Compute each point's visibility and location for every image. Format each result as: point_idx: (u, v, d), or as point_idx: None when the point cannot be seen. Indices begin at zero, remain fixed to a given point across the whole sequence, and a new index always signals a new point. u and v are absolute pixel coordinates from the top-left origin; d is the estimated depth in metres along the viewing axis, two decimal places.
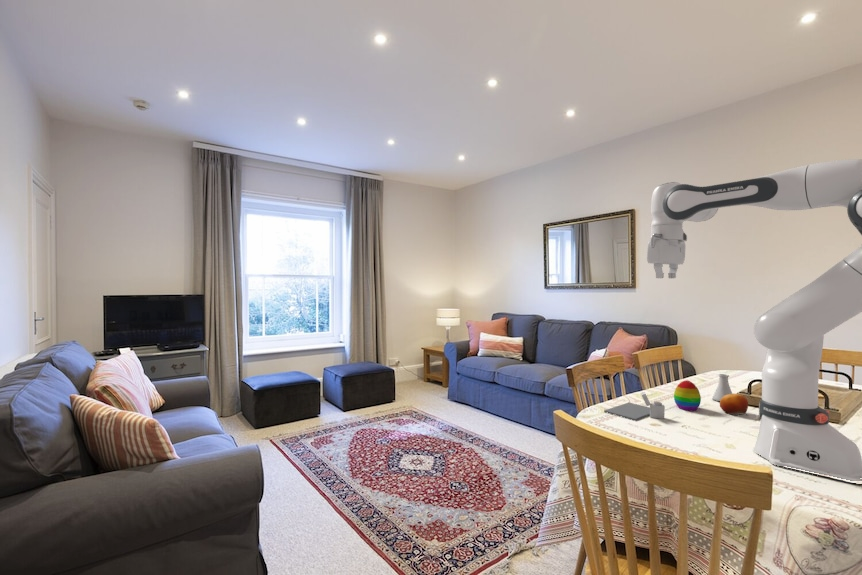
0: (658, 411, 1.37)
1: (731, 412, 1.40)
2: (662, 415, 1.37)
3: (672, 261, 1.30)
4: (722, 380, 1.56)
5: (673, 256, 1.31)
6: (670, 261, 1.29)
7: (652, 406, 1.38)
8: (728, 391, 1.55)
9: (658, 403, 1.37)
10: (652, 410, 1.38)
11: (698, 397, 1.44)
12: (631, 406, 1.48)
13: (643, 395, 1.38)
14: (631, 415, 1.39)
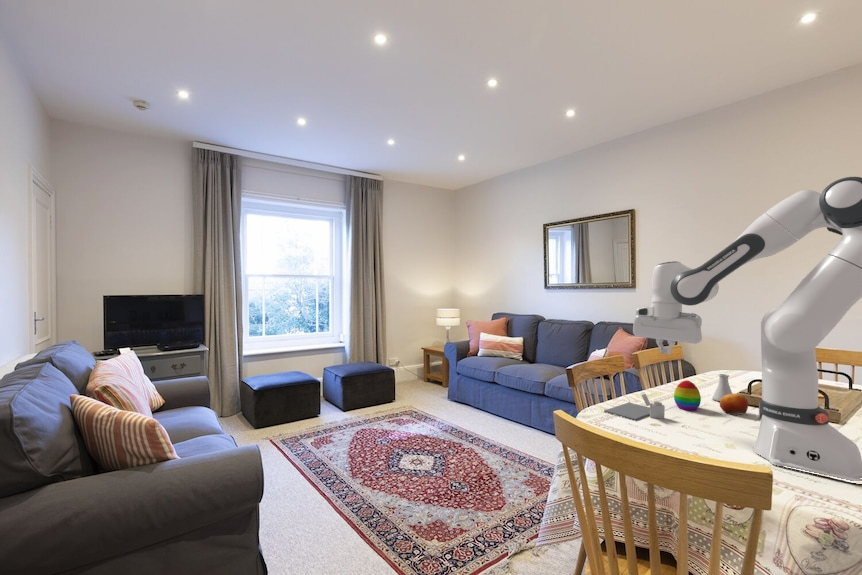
0: (658, 411, 1.37)
1: (731, 412, 1.40)
2: (662, 415, 1.37)
3: None
4: (722, 380, 1.56)
5: None
6: None
7: (652, 406, 1.38)
8: (728, 391, 1.55)
9: (658, 403, 1.37)
10: (652, 410, 1.38)
11: (698, 397, 1.44)
12: (631, 406, 1.48)
13: (643, 395, 1.38)
14: (631, 415, 1.39)
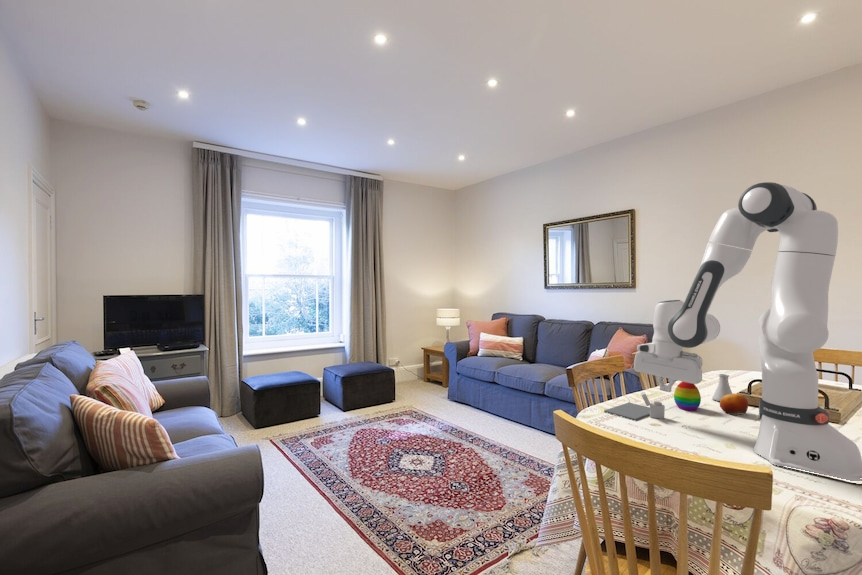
0: (658, 411, 1.37)
1: (731, 412, 1.40)
2: (662, 415, 1.37)
3: None
4: (722, 380, 1.56)
5: None
6: None
7: (652, 406, 1.38)
8: (728, 391, 1.55)
9: (658, 403, 1.37)
10: (652, 410, 1.38)
11: (698, 397, 1.44)
12: (631, 406, 1.48)
13: (643, 395, 1.38)
14: (631, 415, 1.39)
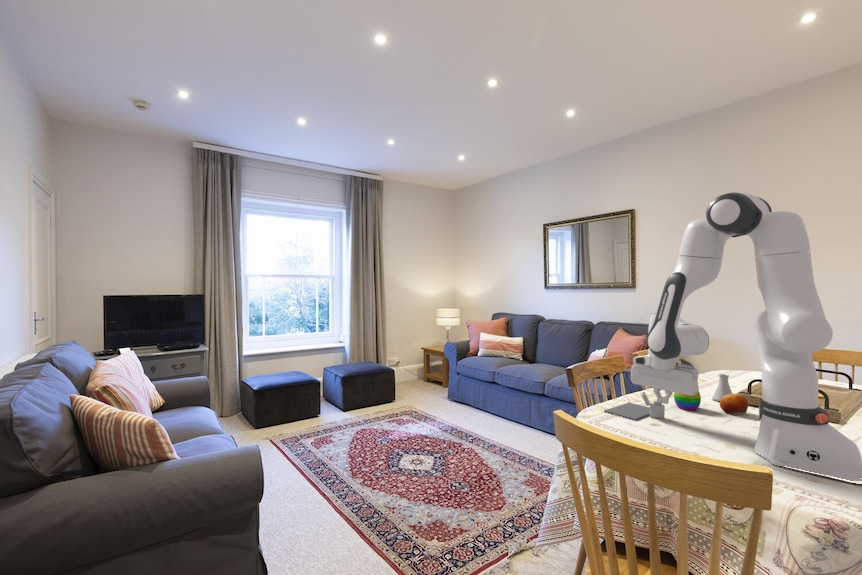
0: (658, 411, 1.37)
1: (731, 412, 1.40)
2: (662, 415, 1.37)
3: None
4: (722, 380, 1.56)
5: None
6: None
7: (652, 406, 1.38)
8: (728, 391, 1.55)
9: (658, 403, 1.37)
10: (652, 410, 1.38)
11: (698, 397, 1.44)
12: (631, 406, 1.48)
13: (643, 395, 1.38)
14: (631, 415, 1.39)
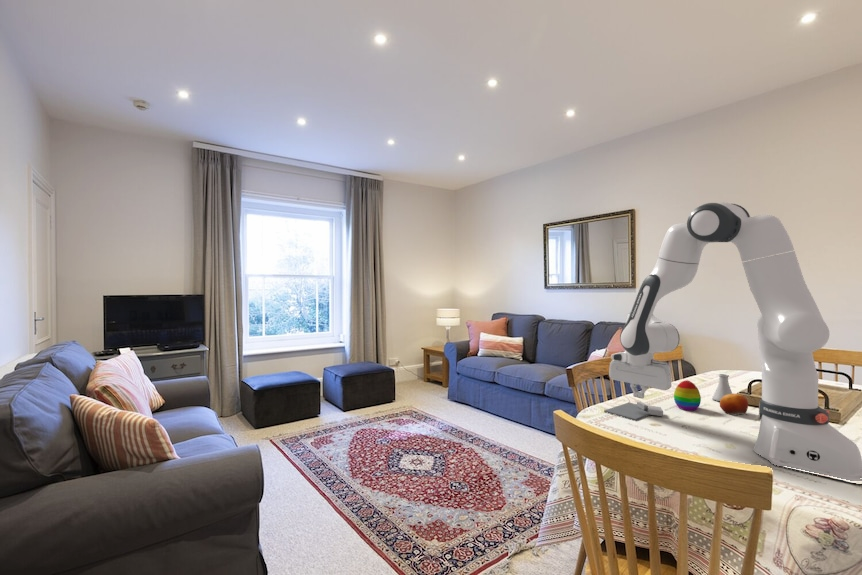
0: (656, 408, 1.41)
1: (731, 412, 1.40)
2: (660, 409, 1.39)
3: None
4: (722, 380, 1.56)
5: None
6: None
7: (649, 406, 1.43)
8: (728, 391, 1.55)
9: None
10: (650, 407, 1.42)
11: (698, 397, 1.44)
12: (631, 406, 1.48)
13: None
14: (631, 415, 1.39)
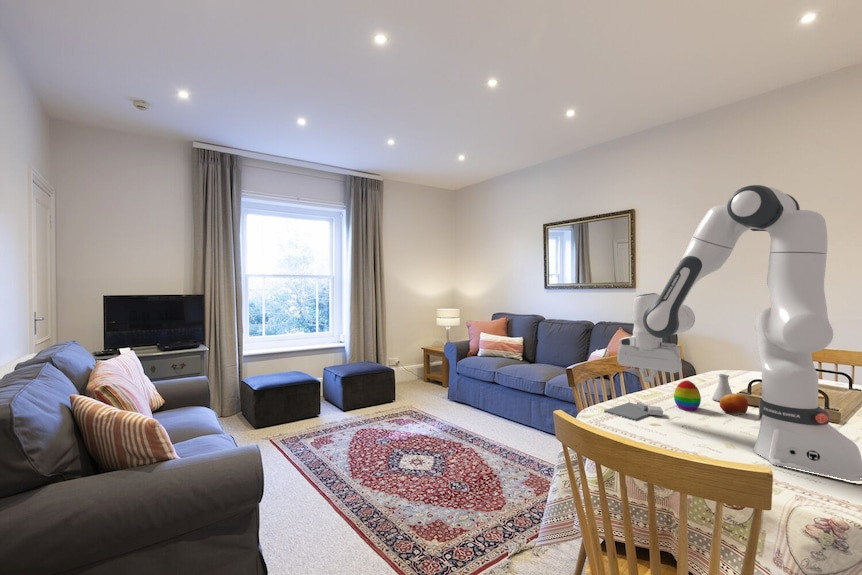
0: (655, 408, 1.41)
1: (731, 412, 1.40)
2: (660, 409, 1.39)
3: None
4: (722, 380, 1.56)
5: None
6: None
7: (649, 406, 1.43)
8: (728, 391, 1.55)
9: None
10: (650, 407, 1.42)
11: (698, 397, 1.44)
12: (631, 406, 1.48)
13: (638, 402, 1.47)
14: (631, 415, 1.39)
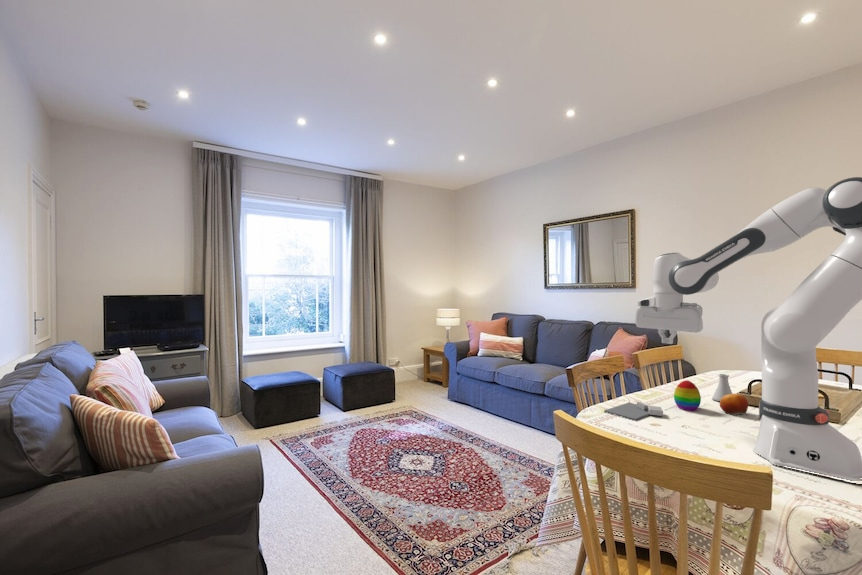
0: (656, 408, 1.41)
1: (731, 412, 1.40)
2: (660, 409, 1.39)
3: None
4: (722, 380, 1.56)
5: None
6: None
7: (649, 406, 1.43)
8: (728, 391, 1.55)
9: None
10: (650, 407, 1.42)
11: (698, 397, 1.44)
12: (631, 406, 1.48)
13: None
14: (631, 415, 1.39)
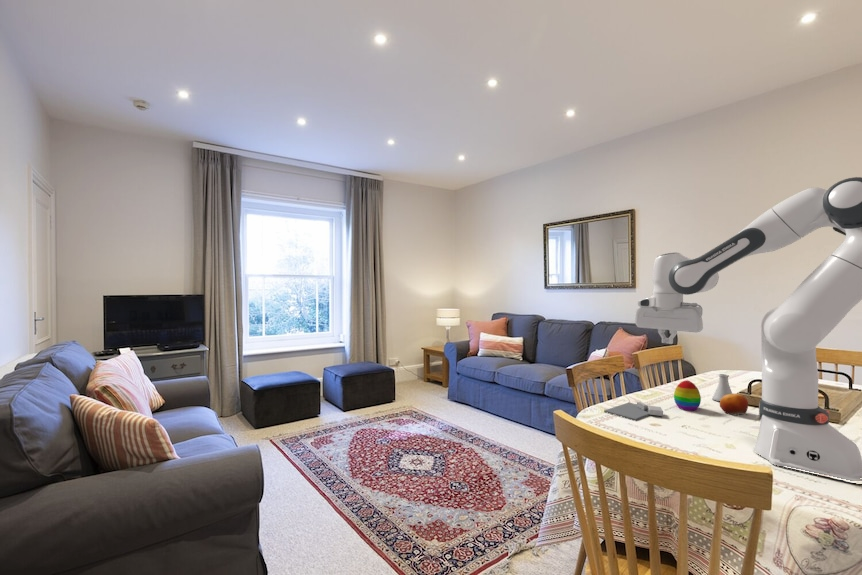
0: (656, 408, 1.41)
1: (731, 412, 1.40)
2: (660, 409, 1.39)
3: None
4: (722, 380, 1.56)
5: None
6: None
7: (649, 406, 1.43)
8: (728, 391, 1.55)
9: None
10: (650, 407, 1.42)
11: (698, 397, 1.44)
12: (631, 406, 1.48)
13: None
14: (631, 415, 1.39)
